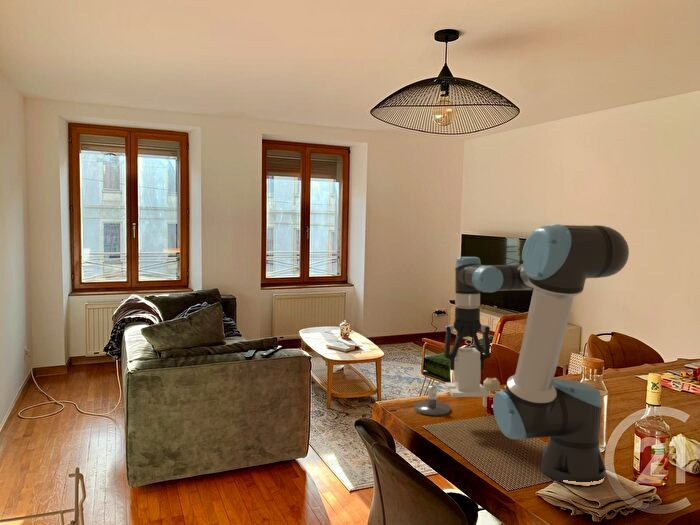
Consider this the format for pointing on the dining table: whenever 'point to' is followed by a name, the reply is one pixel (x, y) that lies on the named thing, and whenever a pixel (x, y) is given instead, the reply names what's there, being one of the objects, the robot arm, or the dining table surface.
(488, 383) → the candle
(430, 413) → the post base
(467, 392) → the flange
